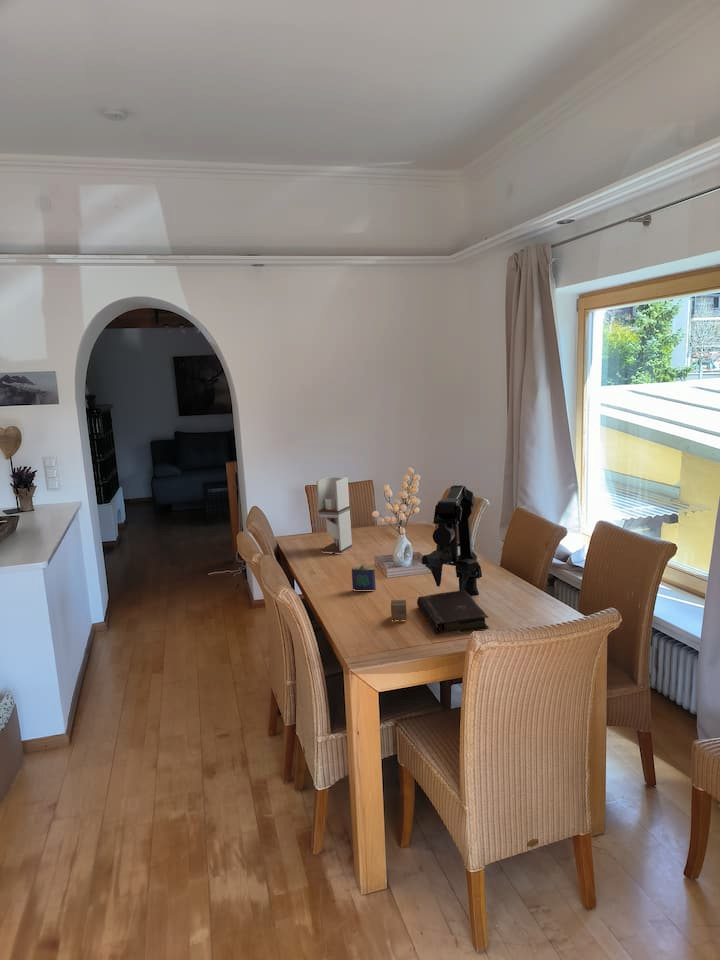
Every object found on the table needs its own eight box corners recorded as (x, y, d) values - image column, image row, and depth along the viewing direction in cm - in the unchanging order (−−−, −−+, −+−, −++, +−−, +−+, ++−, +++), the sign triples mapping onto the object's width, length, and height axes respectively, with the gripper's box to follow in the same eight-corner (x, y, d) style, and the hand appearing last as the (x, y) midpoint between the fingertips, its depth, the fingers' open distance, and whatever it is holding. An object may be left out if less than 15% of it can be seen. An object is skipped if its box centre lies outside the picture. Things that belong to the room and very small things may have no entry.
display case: (333, 546, 313) (328, 477, 307) (352, 548, 308) (347, 477, 303) (321, 553, 303) (316, 481, 297) (341, 554, 298) (336, 481, 293)
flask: (376, 589, 248) (374, 563, 246) (375, 592, 245) (373, 565, 243) (353, 589, 250) (351, 563, 248) (351, 591, 247) (350, 565, 245)
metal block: (392, 616, 219) (391, 600, 218) (406, 616, 219) (405, 599, 218) (391, 622, 214) (390, 605, 213) (406, 621, 214) (405, 604, 213)
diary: (435, 637, 202) (434, 622, 201) (417, 609, 226) (416, 596, 226) (491, 629, 204) (491, 615, 203) (467, 603, 229) (467, 589, 228)
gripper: (409, 540, 203) (411, 588, 205) (455, 547, 190) (456, 598, 191) (432, 536, 211) (433, 582, 212) (478, 542, 197) (479, 591, 198)
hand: (449, 588), depth 203 cm, fingers open, 9 cm apart
